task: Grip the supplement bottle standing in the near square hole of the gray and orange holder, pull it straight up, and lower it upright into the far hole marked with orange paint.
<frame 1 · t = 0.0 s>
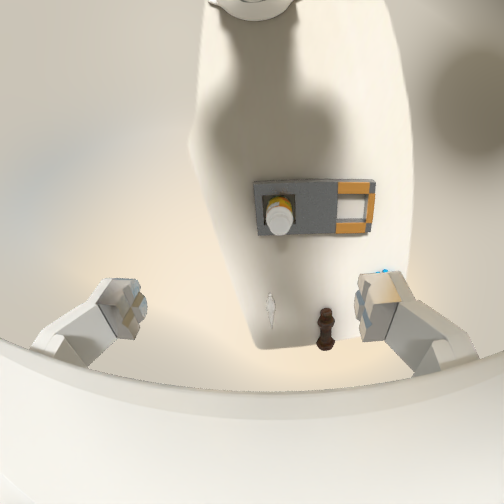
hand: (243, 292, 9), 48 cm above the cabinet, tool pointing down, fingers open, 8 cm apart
bolt: (325, 322, 78), on the cabinet
supplement bottle: (279, 205, 59), resting in gray and orange holder
gray and orange holder: (315, 205, 58), on the cabinet
stone spearhead: (271, 310, 77), on the cabinet
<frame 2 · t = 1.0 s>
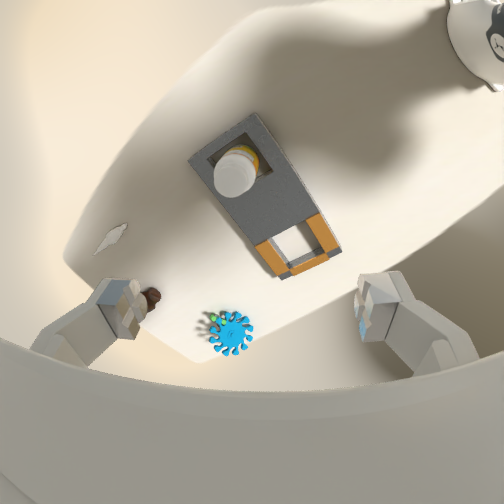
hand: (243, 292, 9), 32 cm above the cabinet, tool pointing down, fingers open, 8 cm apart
blue lobed piece: (232, 319, 59), on the cabinet
bolt: (143, 300, 59), on the cabinet
supplement bottle: (241, 160, 39), resting in gray and orange holder
gray and orange holder: (271, 202, 42), on the cabinet
stone spearhead: (109, 239, 50), on the cabinet
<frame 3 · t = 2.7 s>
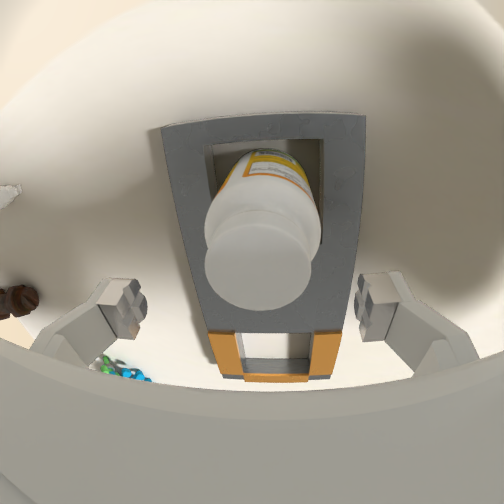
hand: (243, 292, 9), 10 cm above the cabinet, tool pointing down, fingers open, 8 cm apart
blue lobed piece: (130, 371, 36), on the cabinet
bolt: (20, 292, 30), on the cabinet
supplement bottle: (268, 184, 18), resting in gray and orange holder
gray and orange holder: (273, 279, 22), on the cabinet
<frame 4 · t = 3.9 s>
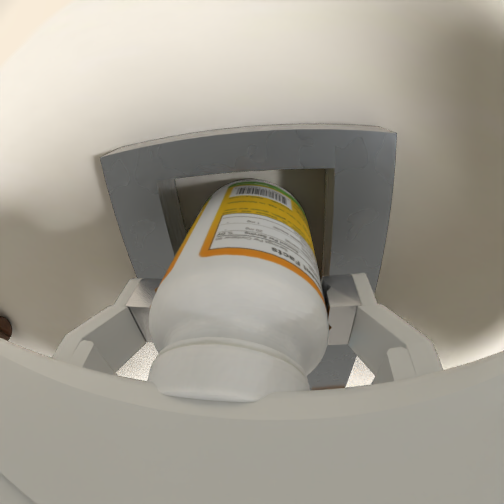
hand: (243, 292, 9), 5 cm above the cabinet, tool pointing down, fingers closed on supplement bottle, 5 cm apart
supplement bottle: (253, 227, 14), resting in gray and orange holder, touching gripper
gray and orange holder: (263, 335, 18), on the cabinet
when the fingers open (6 cm above the cabinet, at t = 10.1 s): supplement bottle drops 1 cm, resting in gray and orange holder.
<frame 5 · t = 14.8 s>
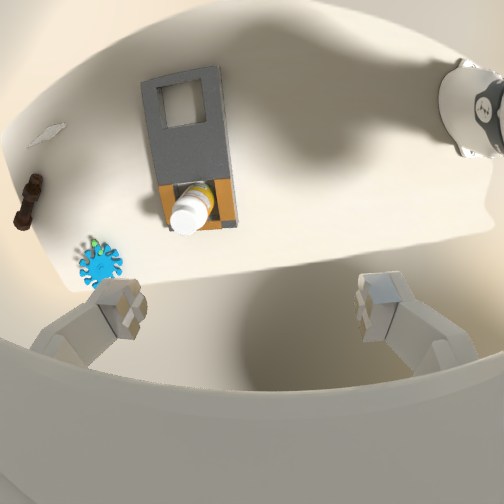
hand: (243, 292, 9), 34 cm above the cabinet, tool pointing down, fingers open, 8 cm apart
blue lobed piece: (108, 254, 53), on the cabinet
bolt: (35, 197, 46), on the cabinet
supplement bottle: (200, 196, 44), resting in gray and orange holder
gray and orange holder: (192, 151, 40), on the cabinet
stone spearhead: (46, 135, 38), on the cabinet
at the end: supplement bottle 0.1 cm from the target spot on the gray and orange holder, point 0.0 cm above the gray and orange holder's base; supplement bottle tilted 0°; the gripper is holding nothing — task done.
